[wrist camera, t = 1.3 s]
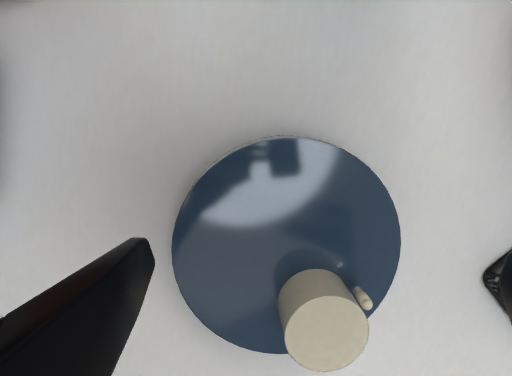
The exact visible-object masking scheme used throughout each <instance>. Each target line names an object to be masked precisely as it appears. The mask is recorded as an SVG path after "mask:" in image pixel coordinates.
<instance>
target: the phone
mask: <svg viewBox="0 0 512 376" xmlns="http://www.w3.org/2000/svg"><path fill="white" fill-rule="evenodd" d="M507 255H508V254H507ZM507 255H506V256H505V257H503V258H502V259H501V260H500V261H498V262H497V263H496V264H494V265H493V266H492V267H490V268H489V269H488V270H487V271H486V273H485V275H484V283H485V285H486V287H487V288H488V289H489V291H490V292H491V293H492V294H493V296H494V297H495V298H496V300H497V301H498V302H499V303H500V305H501V306H502V307H503V309H504V310H505V311H506V313H507V314H508V311H507V308H506V305H505V302H504V299H503V295H502V292H501V289H500V285H499V277H500V274H501V271H502V268H503V265H504V263H505V260H506V257H507Z"/></svg>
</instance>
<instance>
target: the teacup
mask: <svg viewBox="0 0 512 376" xmlns="http://www.w3.org/2000/svg"><path fill="white" fill-rule="evenodd" d="M353 294H354V296H355V298H356V299H357V301H358V302H359V304H360V305H361V307H362V308H363V309H364V310H370V309H371V308H372V307H373V302H372V301H371V299H370V298H369V296H368V295H367V294H366V292H365V291H364V290H363V288H362V287H360V286H357V287H355V288H354V289H353ZM355 298H354V297H353V295H352V293H351V292H350V290H349V289H348V287H347V286H346V284H345V283H344V281H343V280H342V279H341V278H340V277H339V276H337V275H336V274H334V273H333V272H330V271H328V270H324V269H308V270H304V271H301V272H299V273H297V274H295V275H294V276H292V277H291V278H290V279H289V280H288V281H287V282H286V283H285V284H284V285H283V287H282V288H281V290H280V293H279V296H278V301H277V308H278V313H279V318H280V322H281V327H282V332H283V336H284V341H285V345H286V348H287V351H288V353H289V354H290V356H291V357H292V358H293V359H294V361H295V362H297V363H298V364H299V365H301V366H302V367H304V368H307V369H309V370H312V371H318V372H328V371H334V370H338V369H340V368H343V367H345V366H347V365H349V364H350V363H352V362H353V361H354V360H355V359H356V358H357V357H358V356H359V355H360V354H361V353H362V351H363V350H364V348H365V346H366V343H367V341H368V336H369V325H368V320H367V318H366V316H365V314H364V312H363V311H362V309H361V307H360V306H359V304H358V303H357V301H356V300H355Z"/></svg>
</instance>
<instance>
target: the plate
mask: <svg viewBox="0 0 512 376" xmlns="http://www.w3.org/2000/svg"><path fill="white" fill-rule="evenodd" d="M400 246H401V237H400V226H399V221H398V215H397V212H396V209H395V206H394V203H393V201H392V199H391V197H390V195H389V193H388V191H387V189H386V188H385V186H384V185H383V183H382V182H381V181H380V179H379V178H378V177H377V175H376V174H375V173H374V172H373V171H372V170H371V169H370V168H369V167H368V166H367V165H366V164H364V163H363V162H362V161H361V160H359V159H358V158H357V157H355V156H354V155H352V154H350V153H348V152H347V151H345V150H343V149H341V148H339V147H336V146H334V145H331V144H329V143H326V142H323V141H320V140H316V139H312V138H309V137H302V136H294V135H277V136H270V137H263V138H260V139H256V140H252V141H249V142H247V143H244V144H242V145H240V146H237V147H235V148H233V149H232V150H230V151H228V152H227V153H225V154H223V155H222V156H221V157H219V158H218V159H217V160H216V161H214V162H213V163H212V164H211V165H210V166H209V167H208V168H207V169H206V170H205V171H204V172H203V173H202V174H201V175H200V177H199V178H198V179H197V181H196V182H195V183H194V185H193V186H192V188H191V190H190V191H189V193H188V195H187V197H186V199H185V201H184V202H183V204H182V206H181V209H180V211H179V214H178V217H177V219H176V223H175V227H174V232H173V238H172V264H173V269H174V274H175V278H176V281H177V284H178V287H179V289H180V292H181V294H182V296H183V298H184V300H185V301H186V303H187V305H188V306H189V308H190V309H191V310H192V312H193V313H194V314H195V316H196V317H197V318H198V319H199V320H200V321H201V322H202V323H203V324H204V325H205V326H206V327H207V328H209V329H210V330H211V331H212V332H214V333H215V334H216V335H218V336H220V337H221V338H223V339H225V340H226V341H228V342H230V343H233V344H235V345H237V346H239V347H242V348H246V349H249V350H252V351H257V352H263V353H271V354H289V353H288V351H287V348H286V345H285V341H284V336H283V332H282V327H281V322H280V318H279V313H278V308H277V301H278V296H279V293H280V290H281V288H282V287H283V285H284V284H285V283H286V282H287V281H288V280H289V279H290V278H291V277H292V276H294V275H295V274H297V273H299V272H301V271H304V270H308V269H324V270H328V271H330V272H333V273H334V274H336V275H337V276H339V277H340V278H341V279H342V280H343V281H344V283H345V284H346V286H347V287H348V289H349V290H350V292H351V293H352V295H353V297H354V298H355V296H354V294H353V289H354V288H355V287H357V286H360V287H362V288H363V290H364V291H365V292H366V294H367V295H368V296H369V298H370V299H371V301H372V302H373V307H372V308H371V309H370V310H364V309H363V308H362V307H361V305H360V304H359V302H358V301H357V299H356V298H355V300H356V301H357V303H358V304H359V306H360V307H361V309H362V311H363V312H364V314H365V316H366V318H367V319H368V318H369V316H370V315H371V314H372V313H373V312H374V311H375V310H376V308H377V307H378V306H379V304H380V303H381V301H382V300H383V299H384V297H385V296H386V294H387V292H388V290H389V288H390V286H391V284H392V281H393V279H394V276H395V273H396V270H397V266H398V262H399V257H400Z"/></svg>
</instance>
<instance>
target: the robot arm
mask: <svg viewBox="0 0 512 376" xmlns="http://www.w3.org/2000/svg"><path fill="white" fill-rule="evenodd" d="M154 267H155V259H154V256H153V253H152V250H151V248H150V245H149V242H148V240H147V239H146V238H135V237H134V238H130V239H129V240H127V241H125V242H124V243H122V244H120V245H119V246H117V247H116V248H114V249H112V250H111V251H109V252H107V253H106V254H104V255H103V256H101V257H99V258H98V259H96V260H94V261H93V262H91V263H90V264H88V265H86V266H85V267H83V268H81V269H80V270H78V271H77V272H75V273H73V274H72V275H70V276H68V277H67V278H65V279H64V280H62V281H60V282H59V283H57V284H55V285H54V286H52V287H51V288H49V289H47V290H46V291H44V292H42V293H41V294H39V295H38V296H36V297H34V298H33V299H31V300H29V301H28V302H26V303H25V304H23V305H21V306H20V307H18V308H16V309H15V310H13V311H12V312H10V313H8V314H7V315H6V316H5V317H2V318H0V376H111V375H112V373H113V371H114V369H115V366H116V364H117V362H118V360H119V357H120V355H121V353H122V351H123V349H124V346H125V344H126V342H127V340H128V338H129V335H130V333H131V331H132V329H133V327H134V324H135V322H136V320H137V317H138V315H139V312H140V309H141V306H142V303H143V300H144V297H145V294H146V291H147V288H148V285H149V282H150V279H151V276H152V273H153V270H154ZM499 285H500V289H501V292H502V295H503V299H504V302H505V305H506V308H507V311H508V315H509V318H510V321H511V324H512V251H511V252H509V253H508V255H507V257H506V260H505V263H504V265H503V268H502V271H501V274H500V277H499Z"/></svg>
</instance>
